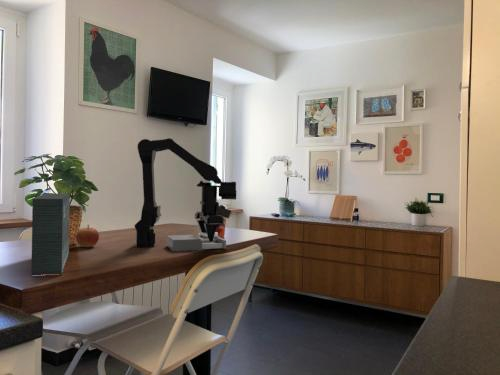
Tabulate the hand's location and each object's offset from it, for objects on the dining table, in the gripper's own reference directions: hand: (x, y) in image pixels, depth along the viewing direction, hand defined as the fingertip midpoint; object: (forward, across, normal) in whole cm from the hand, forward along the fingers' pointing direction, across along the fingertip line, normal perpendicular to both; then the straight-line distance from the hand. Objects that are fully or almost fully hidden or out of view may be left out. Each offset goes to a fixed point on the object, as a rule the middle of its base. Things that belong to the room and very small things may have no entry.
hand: (208, 240), depth 153 cm
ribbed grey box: (+3, -17, +52) cm, 55 cm away
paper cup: (+3, +24, -12) cm, 27 cm away
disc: (-1, 0, 0) cm, 1 cm away
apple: (+3, +10, +42) cm, 44 cm away
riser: (+3, +10, -2) cm, 11 cm away
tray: (+2, 0, 0) cm, 2 cm away
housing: (+3, 0, +9) cm, 9 cm away
